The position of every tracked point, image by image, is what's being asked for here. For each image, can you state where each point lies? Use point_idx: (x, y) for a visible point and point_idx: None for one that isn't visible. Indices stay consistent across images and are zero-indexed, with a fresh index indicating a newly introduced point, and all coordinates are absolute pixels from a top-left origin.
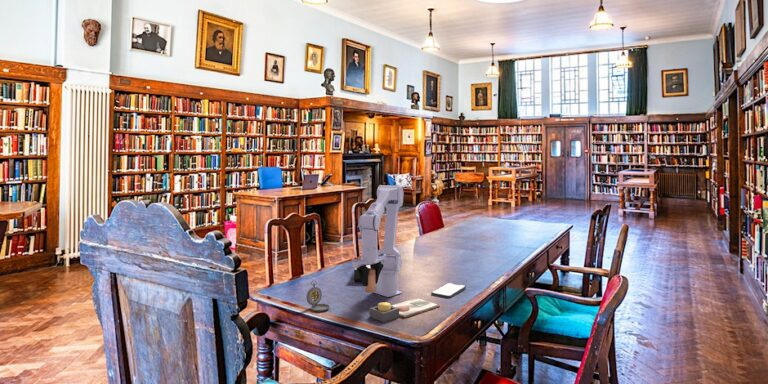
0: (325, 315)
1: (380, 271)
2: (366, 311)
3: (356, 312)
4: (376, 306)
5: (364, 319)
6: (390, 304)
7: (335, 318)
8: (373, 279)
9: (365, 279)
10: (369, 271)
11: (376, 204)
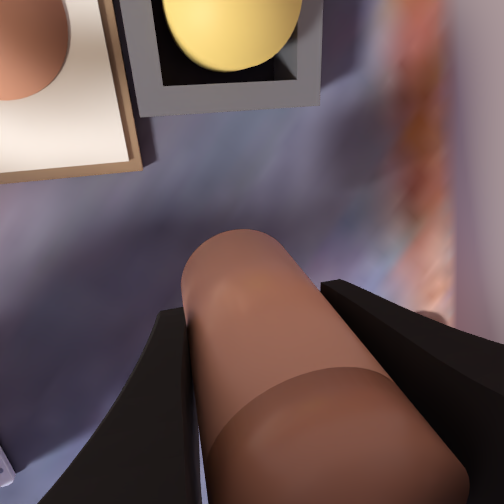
0: (436, 275)
1: (84, 458)
2: (248, 207)
3: (305, 227)
4: (251, 105)
5: (350, 84)
6: None
7: (438, 211)
8: (280, 307)
9: (417, 321)
10: (436, 438)
11: None
